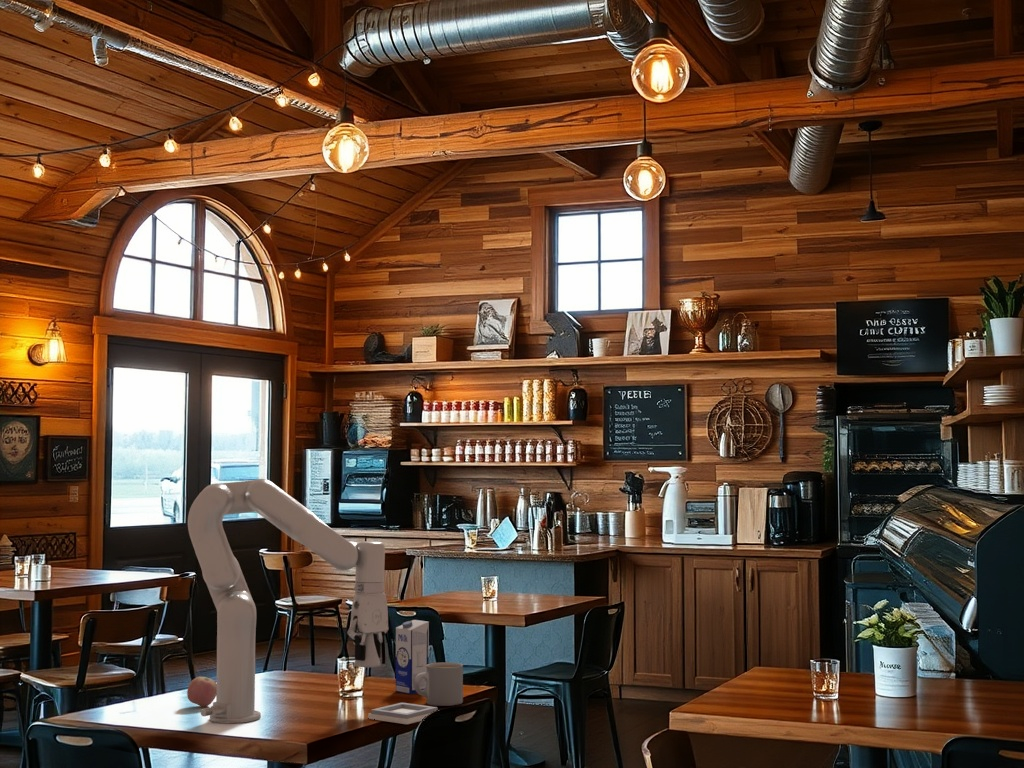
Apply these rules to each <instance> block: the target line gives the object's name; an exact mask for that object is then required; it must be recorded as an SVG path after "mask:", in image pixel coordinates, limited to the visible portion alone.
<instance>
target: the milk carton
mask: <svg viewBox="0 0 1024 768" xmlns="http://www.w3.org/2000/svg"><path fill="white" fill-rule="evenodd" d="M429 623H430V621H425V620H419V619H412V620H408V621H404V622H403V623H401V625H398V626H396V627H395V692H396V691H397V693H401V694H405V693H406V694H407V695H416V694H418V693H417V692H416V691H415V688H414V680H415V677H416V676H417V675H418V674H419V673H424V672H426V665H427V664H430V662H429V655H430V654H429V653H430V649H429V647H430V646H429V645H430V643H429V638H430V637H429V636H430V634H429V633H430V631H429V630H430V629H429V625H430V624H429ZM419 687H420V689H421V690H424V689H425V687H426V679H425V678H422V679H421V680H420V682H419Z"/></svg>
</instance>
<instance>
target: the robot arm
mask: <svg viewBox="0 0 1024 768" xmlns="http://www.w3.org/2000/svg"><path fill="white" fill-rule="evenodd" d="M253 512H255V513H257V514H258V515H260V516H261V518H264V519H265V520H266V521H268V522H269V523H271V524H272V525H273V526H275V528H277V529H279V530H280V531H281V532H282V533H284V534H285V535H287V536H288V537H289V538H291V539H292V540H294V541H295V542H298V543H299V544H301V545H303V546H305V547H306V548H307V549H309V550H310V551H311V552H313V553H314V554H316V556H318V557H320V558H321V559H322V560H323V561H325V562H326V563H327V564H329V566H331V567H332V568H334V569H336V570H338V571H342V572H344V571H345V572H346V571H349V570H352V569H353V568H355V582H354V587H353V590H354V594H353V599H352V602H351V603H352V604H351V612H350V613H351V614H350V626H349V628H348V630H347V632H346V634H347V636H349V638H350V639H351V641H352V642H353V645H354V661H355V660H360V661H365V653H366V645H364V641H365V637H366V634H370V633H373V637H374V643H375V647H376V651H377V654H378V657H379V659H380V658H381V647H382V646H381V645H382V643H383V640H384V637H385V636H386V634H387V633H388V631H389V628H390V627H389V614H388V613H389V612H388V610H389V609H388V602H387V594H386V593H385V592H384V591H385V560H386V558H385V557H386V553H385V552H386V547H385V544H384V543H383V542H382V541H351V540H350V541H349V540H347V538H345V537H343V535H341V534H340V533H338V532H337V531H336V530H334V529H333V528H331V527H330V526H329V525H327V524H326V523H325V522H324V521H322V520H321V519H320V518H319V517H318V516H317V515H316V514H315V513H314V512H312V510H310V509H308V507H306V506H304V505H303V504H302V503H300V502H299V501H298V500H297V499H295V498H294V497H292V496H291V495H290V494H288V493H287V492H285V491H284V490H283V489H282V488H280V487H279V486H278V485H276V484H275V483H274V482H273V481H271V480H269V479H266V478H257V479H253V480H252V479H251V480H243V481H234V482H232V481H231V482H223V483H222V482H221V483H220V482H219V483H210V484H208V485H206V487H205V488H203V489H202V491H201V492H199V494H198V495H197V496H196V498H195V499H194V500H193V502H192V503H191V506H190V508H189V511H188V516H187V530H188V535H189V538H190V540H191V544H192V547H193V549H194V553H195V556H196V558H197V560H198V563H199V566H200V568H201V572H202V574H201V575H202V578H203V580H204V582H205V584H206V587H207V589H208V591H209V594H210V597H211V599H212V602H213V604H214V607H215V609H216V612H217V613H216V615H217V616H216V617H217V618H216V619H217V620H216V623H217V624H216V625H217V628H216V629H217V630H216V632H217V635H216V684H217V690H216V697H215V699H216V701H215V702H212V705H211V706H210V707H203V708H202V709H201V710H200V715H201V717H208V716H209V720H210V721H211V722H214V723H219V724H238V723H239V724H240V723H247V722H248V723H249V722H253V721H256V720H260V718H261V712H260V711H257V710H255V709H256V708H255V705H256V703H255V701H256V700H255V699H256V696H255V695H256V694H255V693H256V631H257V629H256V628H257V607H256V603H255V601H254V600H253V597H252V594H251V591H250V589H249V587H248V583H247V582H246V579H245V576H244V574H243V571H242V569H241V566H240V563H239V561H238V560H237V558H236V557H235V555H234V553H233V551H232V548H231V546H230V543H229V541H228V538H227V535H226V532H225V530H224V526H223V519H224V516H228V515H238V514H246V513H253Z"/></svg>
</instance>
